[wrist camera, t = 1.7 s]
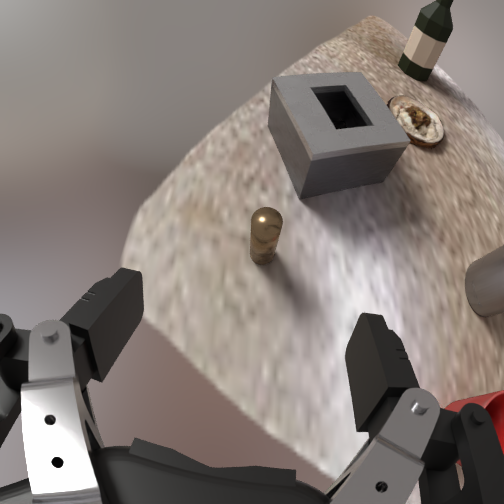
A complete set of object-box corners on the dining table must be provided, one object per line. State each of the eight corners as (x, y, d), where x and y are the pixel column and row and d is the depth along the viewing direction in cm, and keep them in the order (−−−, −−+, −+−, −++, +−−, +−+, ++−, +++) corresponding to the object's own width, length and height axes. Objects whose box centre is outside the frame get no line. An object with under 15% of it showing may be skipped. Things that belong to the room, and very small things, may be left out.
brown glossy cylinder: (270, 239, 38) (277, 204, 30) (277, 261, 37) (286, 231, 29) (247, 245, 38) (247, 211, 29) (253, 267, 37) (256, 238, 28)
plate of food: (393, 89, 51) (400, 75, 47) (451, 131, 48) (460, 119, 44) (364, 118, 47) (371, 102, 43) (432, 169, 44) (444, 156, 40)
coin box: (345, 115, 46) (360, 72, 37) (383, 181, 42) (410, 141, 32) (267, 125, 45) (272, 77, 35) (299, 199, 40) (313, 154, 31)
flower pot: (486, 395, 31) (530, 395, 21) (461, 462, 27) (502, 475, 18) (441, 382, 32) (487, 383, 23) (412, 456, 28) (453, 475, 19)
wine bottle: (431, 85, 52) (480, -11, 24) (401, 74, 52) (444, -31, 24) (423, 67, 55) (464, -23, 27) (394, 56, 55) (430, -40, 27)
